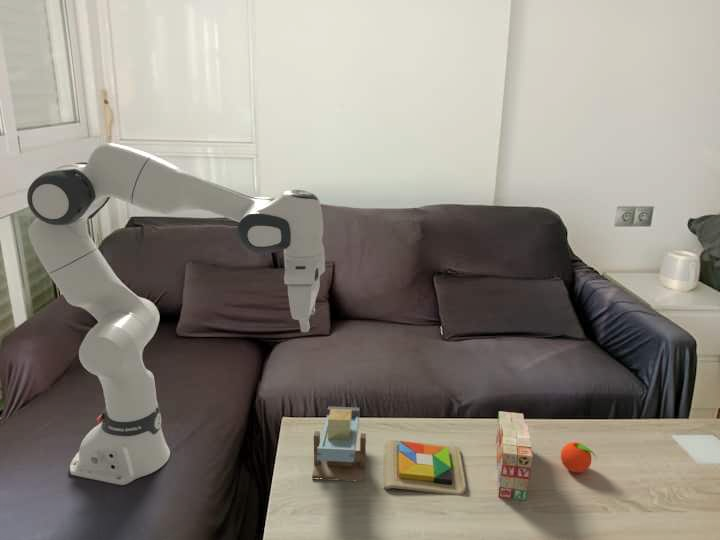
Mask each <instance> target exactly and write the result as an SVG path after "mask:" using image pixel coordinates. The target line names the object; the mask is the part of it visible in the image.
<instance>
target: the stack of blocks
mask: <svg viewBox="0 0 720 540" xmlns="http://www.w3.org/2000/svg"><path fill="white" fill-rule="evenodd" d="M497 414H498V415H497V427H496V428H497V429H496V432H497V433H496V440H495V442H496V443H495V445H496V466H497V468H496V469H497V497H498V498H502V499H507V500H509V499H510V500H518V501H522V502H523V501H524V502H527V499H528V491H529V489H528V488H529V483H530V478H531V473H532V472H531V471H532V463H533V458H534V457H533V449H532V442H531V435H530V432H529V431H530V430H529V425H528V423H526V422H525V417H524V413H519V412H512V411H511V412H508V411H501V410H500V411H498V413H497Z"/></svg>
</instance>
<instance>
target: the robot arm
mask: <svg viewBox="0 0 720 540" xmlns="http://www.w3.org/2000/svg"><path fill="white" fill-rule="evenodd" d="M26 198H27V204H28V208H29V209H30V211H31V212H32V214H33V215H34V216H35V219H34V220H33V221H32V222H31V224H30V225H29V226H28V227H29V228H28V231H27V233H28V234H27V235H28V237H29V240H30V242H31V245H32V248H33V250H34V252H35V254H36V255H37V259H39V261H40V263H41V264H42V266H43V268H44V269H45V271H46V272H47V274H48V275H49V277H50V279H52V281H53V283H54V284H55V285H56V287H57V288H58V290H59V292H60V293H61V294H62V296H63V297H64V299H65V300H66V302H67V303H68V304H69V305H72V306H74V307H77V308H78V307H79V308H82V309H83V310H85V311H86V312H88V313H89V314H90V315H91V316H93V318H95V320H96V321H97V323H96V324H95V325H94V326H93V327H92V328H91V329H90V330H89V331H88V332H87V333H86V335H85V337H84V339H83V341H82V342H81V344H80V346H79V350H78V358H79V361H80V363H81V365H82V366H83V368H84V370H85V369H86V370H87V372H89V373H90V374H92V375H95V376H97V378H98V380H99V382H100V384H101V386H102V390H103V391H102V392H103V397H104V403H105V408H104V409H103V410H102V411H101V412H100V415H99V416H98V417H97V419H96V422H97V423H96V424H97V425H96V426H95V427H93V428H92V429H91V430H90V431H89V432H88V433H87V434H86V435H85V437H84V438H83V440H82V441H81V443H80V446H79V451H78V452H77V453H76V454H75V455H74V457H73V458H72V460H71V463H70V465H69V474H70V475H72V476H75V477H76V476H77V477H80V478H84V479H89V480H95V481H99V482H105V483H109V484H113V485H119V486H125V485H128V484H130V483H132V482H133V481H134V480H136V479H139V478H141V477H145V476H149V475H150V474H152V473H154V472H156V471H158V470H159V469H160V468H162V467H163V466H165V464H166V463H167V462H168V460H169V458H170V456H171V450H170V448H169V446H168V445H167V442H166V439H165V437H164V434H163V430H162V429H163V428H162V416H161V409H160V404H159V402H158V400H157V391H156V383H155V377H154V374H153V372H152V371H150V370H148V368H146V366H145V364H144V361H143V352H144V348H145V346H146V345H147V344H149V342H150V341H151V340H152V338H153V337H154V336H155V334H156V332H157V329H158V327H159V323H160V312H159V310H158V307H157V306H156V305H155V304H154V303H153V302H152V301H151V300H149V299H147V298H144V297H141V296H138V295H137V294H136V293H135V292H134V291H132V290H131V289H130V288H129V287H128V286H127V285H126V284H124V283H123V282H122V281H121V279H120V278H119V277H118V276H117V274H116V273H115V272H114V270H113V269H112V267H111V266H110V265H109V263H108V262H107V260H106V258H105V257H104V256H103V254H102V253H101V251H100V250H99V247H98V246H97V245H96V243H95V242H94V241H93V240H94V239H92V237H91V236H90V234H89V232H88V229H87V221H88V220H91V219H93V218H94V217H95V216H96V214H98V213H99V211H101V210H102V209H103V208H104V206H105V205H106V204H107V203H108V202H109V201H110V199H111V198H113V199H118V200H120V201H123V202H126V203H128V204H130V205H133V206H135V207H137V208H140V209H143V210H146V211H148V212H152V213H157V214H160V215H161V214H162V215H171V214H175V213H179V212H184V211H192V210H193V211H195V210H199V211H200V210H201V211H206V212H210V213H213V214H215V215H218V216H221V217H224V218H227V219H229V220H232V221H235V222H238V226H237V229H236V235H237V236H236V237H237V240H238V241H239V243H240V245H241V246H242V248H244V249H245V250H246V251H247V252H249V253H251V254H253V255H254V254H255V255H266V254H271V253H277V252H280V251H283V257H284V258H283V259H284V260H283V261H284V262H283V263H284V275H283V281H284V283H283V284H285V285H287V295H288V302H289V303H288V305H289V309H290V315H291V318H292V319H293V320H297V321H298V322H299V326H300V332H301V333H309V331H310V320H309V319H310V318H311V315H312V316H313V315H315V313H316V300H317V296H318V294H319V290H320V287H321V282H320V281H321V280H320V279H321V276H322V275H323V274H324V273H325V272H326V255H325V246H324V244H323V236H324V218H323V211H322V205H321V202H320V200H319V198H318V197H317V195H315V194H314V193H312V192H309V191H307V190H303V189H302V190H301V189H288V190H286V191H284V192H283V193H282V194H281V195H279V196H277V197H276V198H274V197H270V196H250V195H247V194H244V193H241V192H238V191H235V190H233V189H230V188H228V187H225V186H223V185H219V184H217V183H214V182H211V181H209V180H205V179H203V178H201V177H199V176H197V175H195V174H194V173H191V172H189V171H186V170H185V169H182V168H181V167H178V166H177V165H175V164H172V163H170V162H168V161H167V160H164V159H161V158H160V157H158V156H155V155H152V154H150V153H147V152H146V151H142V150H139V149H136V148H133V147H129V146H126V145H122V144H118V143H114V142H113V143H112V142H106V143H103V144H101V145H100V144H99V146H97V147H96V148H95V149H94V150H93V152H91V154H90V157H89V158H88V160H87V162H84V161H83V162H76V163H72V164H65V165H62V166H59V167H57V168H55V169H53V170H51V171H47V172H44V173H42V174H41V175H39V176H38V177H37V178H36V179H34V180H33V182H31V183H30V185H29V188H28V190H27V196H26Z"/></svg>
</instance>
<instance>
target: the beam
mask: <svg viewBox="0 0 720 540" xmlns="http://www.w3.org/2000/svg"><path fill="white" fill-rule="evenodd" d="M331 409H346V410H352V419H351V434H350V440H349V441H342V440H328V418H329V414H330V410H331ZM326 410H327V411H326V412H327V415H326V419H325V422H324V426H323V429H322V433H321V436H320V444H319V447H317V460H321V461H342V462H354V456H355V451H356V448H357V439H358V434H359V433H358V431H359V427H360V426H359V424H360V407H352V406H348V407H347V406H329V405H328V407H327V409H326Z"/></svg>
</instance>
